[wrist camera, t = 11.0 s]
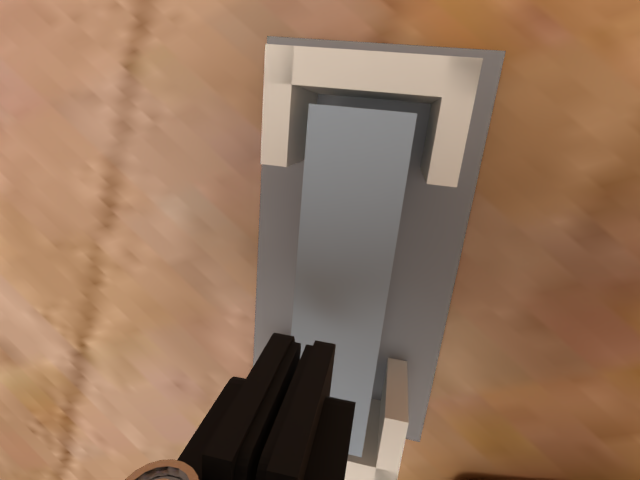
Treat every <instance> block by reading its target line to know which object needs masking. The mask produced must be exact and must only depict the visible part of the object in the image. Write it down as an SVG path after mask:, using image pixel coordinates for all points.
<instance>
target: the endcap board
mask: <svg viewBox="0 0 640 480" xmlns="http://www.w3.org/2000/svg"><path fill="white" fill-rule="evenodd" d="M505 52H506V51H497V50H481V49H465V48H449V47H433V46H417V45H401V44H385V43H369V42H353V41H337V40H321V39H305V38H289V37H272V36H267V44H265V63H264V88H263V112H262V136H261V160H260V164H262V171H261V194H260V218H259V241H258V264H257V288H256V311H255V335H254V358H253V366H254V365H255V363H256V361H257V360H258V358H259V356H260V354H261V353H262V351H263V349H264V348H265V346H266V344H267V343H268V341H269V339H270V337H271V336H272V334H273V333H280V334H285V335H290V336H291V328H292V315H293V302H294V289H295V276H296V263H297V250H298V237H299V224H300V211H301V198H302V185H303V172H304V159H305V147H306V134H307V121H308V108H309V104H320V105H331V106H342V107H353V108H364V109H375V110H386V111H397V112H408V113H417V119H416V125H415V131H414V138H413V144H412V150H411V156H410V162H409V168H408V175H407V181H406V187H405V193H404V199H403V205H402V212H401V218H400V224H399V230H398V236H397V242H396V249H395V255H394V261H393V267H392V273H391V279H390V286H389V292H388V298H387V304H386V310H385V316H384V323H383V329H382V335H381V341H380V347H379V353H378V360H377V366H376V372H375V378H374V384H373V391H372V397H371V403H370V409H369V415H368V421H367V428H366V434H365V440H364V446H363V452H362V457H358V456H354V455H350V454H348V459H347V466H346V473H345V480H397V478H398V473H399V468H400V463H401V458H402V453H403V449H404V444H405V439H409V440H413V441H418V442H420V438H421V434H422V429H423V425H424V420H425V416H426V411H427V407H428V402H429V397H430V393H431V388H432V384H433V379H434V375H435V370H436V366H437V361H438V356H439V352H440V347H441V343H442V338H443V334H444V329H445V325H446V320H447V316H448V311H449V306H450V302H451V297H452V293H453V288H454V284H455V279H456V275H457V270H458V265H459V261H460V256H461V252H462V247H463V243H464V238H465V234H466V229H467V224H468V220H469V215H470V211H471V206H472V202H473V197H474V193H475V188H476V184H477V179H478V174H479V170H480V165H481V161H482V156H483V152H484V147H485V143H486V138H487V133H488V129H489V124H490V120H491V115H492V111H493V106H494V102H495V97H496V92H497V88H498V83H499V79H500V74H501V70H502V65H503V61H504V56H505Z"/></svg>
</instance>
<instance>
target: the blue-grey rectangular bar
mask: <svg viewBox="0 0 640 480" xmlns="http://www.w3.org/2000/svg"><path fill="white" fill-rule="evenodd" d="M416 119H417V113H408V112H397V111H386V110H375V109H364V108H353V107H342V106H331V105H320V104H309V108H308V121H307V134H306V147H305V159H304V172H303V185H302V198H301V211H300V224H299V237H298V250H297V263H296V276H295V289H294V302H293V315H292V328H291V336H294V338H295V342H297V343H301V353H300V358H301V356H302V353H303V351H304V348H305V346H306V345H307V344H308V345H313V344H314V342H315V340H317V341H322V342H327V343H333V344H336V348H335V357H334V365H333V373H332V382H331V390H330V397H334V398H338V399H343V400H348V401H353V402H356V405H355V411H354V418H353V425H352V432H351V439H350V446H349V452H348V454H350V455H354V456H358V457H362V452H363V446H364V440H365V434H366V428H367V421H368V415H369V409H370V403H371V397H372V391H373V384H374V378H375V372H376V366H377V360H378V353H379V347H380V341H381V335H382V329H383V323H384V316H385V310H386V304H387V298H388V292H389V286H390V279H391V273H392V267H393V261H394V255H395V249H396V242H397V236H398V230H399V224H400V218H401V212H402V205H403V199H404V193H405V187H406V181H407V175H408V168H409V162H410V156H411V150H412V144H413V138H414V131H415V125H416Z"/></svg>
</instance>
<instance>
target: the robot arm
mask: <svg viewBox="0 0 640 480" xmlns="http://www.w3.org/2000/svg"><path fill="white" fill-rule="evenodd" d="M335 348H336V344H333V343H327V342H322V341H317V340H315V342H314V344H313V345H308V344H307V345H306V346H305V348H304V351H303V353H302V356H301V358H300V353H301V343H297V342H295V338H294V336H290V335H285V334H280V333H273V334H272V336H271V337H270V339H269V341H268V343H267V344H266V346H265V348H264V349H263V351H262V353H261V354H260V356H259V358H258V360H257V361H256V363H255V365H254V366H253V368H252V370H251V372H250V373H249V375H248V377H247V378H246V379H244V378H239V377H232V378H231V379H230V380H229V381H228V383H227V384H226V386H225V387H224V389H223V390H222V392H221V394H220V395H219V397H218V398H217V400H216V401H215V403H214V404H213V406H212V407H211V409H210V410H209V412H208V414H207V415H206V417H205V418H204V420H203V421H202V423H201V424H200V426H199V427H198V429H197V430H196V432H195V434H194V435H193V437H192V438H191V440H190V441H189V443H188V444H187V446H186V447H185V449H184V450H183V452H182V454H181V455H180V457H179V458H178V460H173V459H172V460H159V461H156V462H152V463H149V464H147V465H145V466H143V467H141V468H139V469H137V470H136V471H134V472H133V473H132V474H131V475H130V476H128V477H127V478H126V479H125V480H345V473H346V466H347V459H348V452H349V446H350V439H351V432H352V425H353V418H354V411H355V405H356V402H353V401H348V400H343V399H338V398H334V397H330V390H331V382H332V373H333V365H334V357H335Z"/></svg>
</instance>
